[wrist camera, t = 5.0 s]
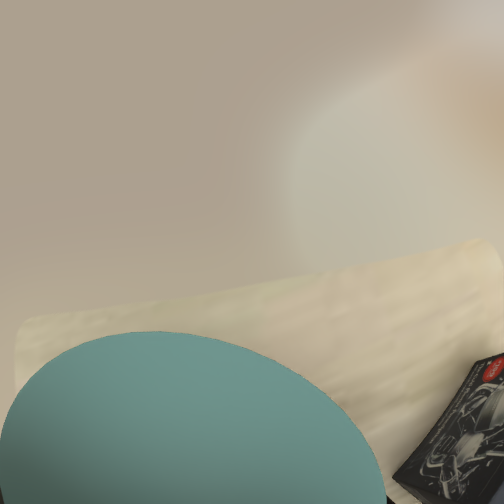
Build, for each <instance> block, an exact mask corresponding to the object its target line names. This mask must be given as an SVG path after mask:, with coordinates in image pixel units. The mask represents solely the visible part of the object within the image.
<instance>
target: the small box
mask: <svg viewBox="0 0 504 504" xmlns="http://www.w3.org/2000/svg"><path fill="white" fill-rule="evenodd" d="M393 479H394V480H395V481H396V482H397V483H399V484H400V485H401V486H402V487H403V488H404V489H406V490H407V491H408V492H410V493H411V494H412V495H413V496H414V497H416V498H417V499H418V500H419V501H421V502H422V503H423V504H504V353H501V354H498V355H495V356H492V357H489V358H486V359H483V360H480V361H477V362H476V363H475V365H474V366H473V368H472V370H471V372H470V373H469V375H468V377H467V378H466V380H465V382H464V383H463V385H462V386H461V388H460V390H459V391H458V393H457V394H456V396H455V397H454V399H453V400H452V402H451V403H450V405H449V406H448V408H447V409H446V411H445V412H444V414H443V415H442V417H441V418H440V419H439V421H438V422H437V423H436V425H435V426H434V427H433V429H432V430H431V431H430V433H429V434H428V435H427V437H426V438H425V439H424V440H423V442H422V443H421V444H420V445H419V447H418V448H417V449H416V450H415V451H414V453H413V454H412V455H411V456H410V457H409V459H408V460H407V461H406V462H405V463H404V464H403V465H402V466H401V468H400V469H399V470H398V471H397V472H396V473H395V474H394V475H393Z"/></svg>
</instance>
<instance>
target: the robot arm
mask: <svg viewBox="0 0 504 504" xmlns="http://www.w3.org/2000/svg"><path fill="white" fill-rule="evenodd" d="M386 498H387V504H395V503H394V502H393V501H392V500H391V499H390V498H389V497H388V496H387V495H386ZM0 504H4V500H3V496H2V492H1V487H0Z"/></svg>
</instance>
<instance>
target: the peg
mask: <svg viewBox="0 0 504 504" xmlns="http://www.w3.org/2000/svg"><path fill="white" fill-rule="evenodd" d="M0 487H1V492H2V496H3V500H4V504H387V498H386V492H385V487H384V482H383V477H382V474H381V471H380V469H379V466H378V463H377V461H376V458H375V456H374V453H373V452H372V450H371V448H370V447H369V445H368V443H367V442H366V440H365V438H364V437H363V435H362V433H361V432H360V430H359V429H358V428H357V427H356V425H355V424H354V423H353V422H352V421H351V419H350V418H349V417H348V416H347V414H346V413H345V412H344V411H343V410H342V409H341V408H340V407H339V406H338V405H337V404H336V403H334V402H333V401H332V400H331V399H330V398H329V397H328V396H327V395H326V394H325V393H324V392H322V391H321V390H320V389H318V388H317V387H316V386H314V385H313V384H311V383H310V382H309V381H307V380H306V379H305V378H303V377H302V376H301V375H299V374H297V373H295V372H293V371H292V370H290V369H288V368H286V367H285V366H283V365H281V364H279V363H278V362H276V361H274V360H272V359H269V358H267V357H265V356H262V355H260V354H258V353H255V352H253V351H251V350H248V349H246V348H243V347H239V346H236V345H233V344H230V343H227V342H223V341H220V340H217V339H212V338H206V337H201V336H196V335H191V334H183V333H172V332H161V331H159V332H131V333H125V334H118V335H112V336H106V337H103V338H100V339H96V340H93V341H89V342H86V343H83V344H81V345H79V346H77V347H74V348H72V349H70V350H68V351H66V352H63V353H62V354H60V355H59V356H57V357H56V358H54V359H53V360H51V361H50V362H48V363H47V364H45V365H44V366H43V367H42V368H41V369H40V370H39V371H38V372H36V373H35V374H34V375H33V376H32V377H31V378H30V379H29V380H28V382H27V383H26V384H25V385H24V387H23V388H22V389H21V390H20V392H19V393H18V395H17V397H16V398H15V400H14V402H13V404H12V406H11V407H10V409H9V412H8V414H7V417H6V420H5V422H4V425H3V429H2V433H1V438H0Z"/></svg>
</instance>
